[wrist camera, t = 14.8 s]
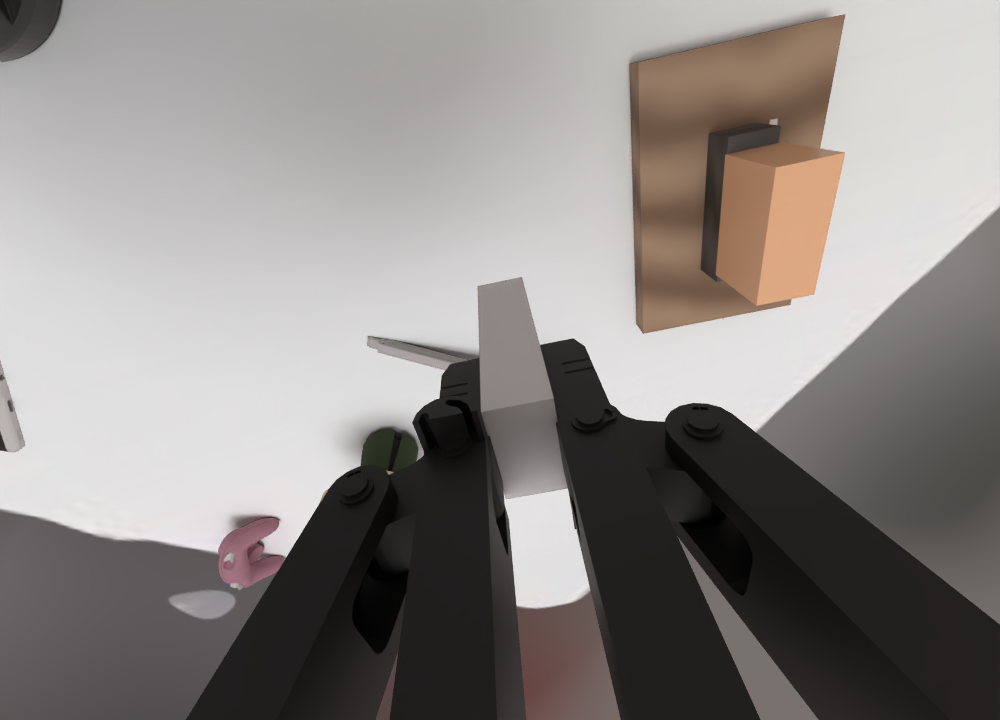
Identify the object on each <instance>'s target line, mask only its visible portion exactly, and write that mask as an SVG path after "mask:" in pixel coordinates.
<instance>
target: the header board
mask: <svg viewBox="0 0 1000 720" xmlns="http://www.w3.org/2000/svg"><path fill="white" fill-rule="evenodd" d="M844 19H845V15H840V16H835V17H830V18H825V19H820V20H816V21H812V22H808V23H803V24H799V25H795V26H790V27H786V28H782V29H778V30H773V31H769V32H765V33H760V34H756V35H752V36H748V37H743V38H739V39H735V40H730V41H726V42H722V43H718V44H713V45H709V46H705V47H701V48H696V49H692V50H688V51H683V52H679V53H675V54H671V55H666V56H662V57H658V58H653V59H649V60H645V61H641V62H636V63H632V64H630V99H631V137H632V174H633V211H634V249H635V286H636V324H637V325H638V327H639V328H640V330H641V331H642V333H643V334H644V333H649V332H654V331H659V330H664V329H669V328H674V327H679V326H684V325H689V324H695V323H700V322H705V321H710V320H715V319H720V318H725V317H730V316H735V315H740V314H746V313H751V312H756V311H761V310H766V309H771V308H776V307H781V306H786V305H790V304H791V299H788V300H783V301H778V302H773V303H768V304H763V305H758V306H756V305H755V304H753V303H752V302H751V301H749V300H748V299H747V298H745V297H744V296H743V295H742V294H740V293H739V292H738V291H736V290H735V289H734V288H732V287H731V286H730V285H728V284H727V283H726V282H725V281H723V280H722V279H721V278H719V277H718V276H717V275H716V265H717V253H718V240H719V228H720V216H721V203H722V191H723V178H724V166H725V155H726V154H730V153H735V152H740V151H744V150H749V149H753V148H758V147H762V146H767V145H772V144H776V143H781V142H785V143H791V144H797V145H803V146H809V147H814V148H820V145H821V140H822V135H823V130H824V124H825V119H826V114H827V108H828V103H829V98H830V93H831V87H832V82H833V77H834V71H835V66H836V61H837V56H838V50H839V45H840V40H841V34H842V29H843V24H844Z"/></svg>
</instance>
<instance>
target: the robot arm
mask: <svg viewBox="0 0 1000 720" xmlns="http://www.w3.org/2000/svg"><path fill="white" fill-rule="evenodd" d="M60 2H61V0H0V62H3V61H9V60H14V59H17V58H20V57H22V56H25V55H27V54H28V53H30V52H32V51H33V50H35V49H36V48H37V47H39V46H40V45H41V44H42V43H43V42H44V40H45V39H46V38H47V36H48V35H49V34H50V32H51V30H52V28H53V26H54V24H55V22H56V19H57V16H58V12H59V8H60ZM478 319H479V357H480V358H478V359H473V360H468V361H463V362H458V363H453V364H450V365H449V366H448V368H447V369H446V371H445V372H444V373H443V375H442V379H441V390H440V399H436V400H434V401H432V402H430V403H429V404H427V405H425V406H424V407H423V408H422V409H421V410H420V411H419V412H418V413H417V414H416V416H415V418H414V420H413V422H412V423H413V425H414V428H415V430H416V433H417V435H418V438H419V440H420V443H421V445H422V448H423V450H424V456H423V457H422V458H420V459H419V460H418V461H416V462H415V463H413V464H411V465H409V466H407V467H405V468H403V469H401V470H398V471H396V472H394V473H391V474H388V472H387V471H386V470H384V469H383V468H382V467H380V466H375V465H366V466H360V467H357V468H355V469H353V470H350V471H348V472H346V473H345V474H344V475H342V476H341V477H340V478H338V479H337V480H336V481H335V482H334V483H333V485H332V486H331V487H330V488H329V489H328V491H327V493H326V494H325V496H324V497H323V499H322V501H321V502H320V504H319V506H318V507H317V509H316V510H315V512H314V514H313V515H312V517H311V518H310V520H309V522H308V523H307V525H306V527H305V528H304V530H303V531H302V533H301V535H300V536H299V538H298V539H297V541H296V543H295V544H294V546H293V548H292V549H291V551H290V552H289V554H288V556H287V557H286V559H285V561H284V562H283V564H282V565H281V567H280V569H279V570H278V572H277V574H276V575H275V577H274V578H273V580H272V582H271V583H270V585H269V586H268V588H267V590H266V591H265V593H264V595H263V596H262V598H261V599H260V601H259V603H258V604H257V606H256V607H255V609H254V611H253V612H252V614H251V616H250V617H249V619H248V620H247V622H246V624H245V625H244V627H243V628H242V630H241V632H240V633H239V635H238V636H237V638H236V640H235V641H234V643H233V645H232V646H231V648H230V649H229V651H228V653H227V654H226V656H225V657H224V659H223V661H222V662H221V664H220V666H219V667H218V669H217V670H216V672H215V674H214V675H213V677H212V679H211V680H210V682H209V683H208V685H207V687H206V688H205V690H204V691H203V693H202V695H201V696H200V698H199V699H198V701H197V703H196V704H195V706H194V708H193V709H192V711H191V713H190V714H189V716H188V717H187V719H186V720H375V719H376V716H377V712H378V710H379V707H380V704H381V701H382V697H383V695H384V692H385V689H386V686H387V683H388V679H389V677H390V674H391V671H392V668H393V665H394V662H395V658H396V656H397V652H398V659H397V668H396V675H395V682H394V690H393V698H392V706H391V713H390V720H526V711H525V701H524V689H523V677H522V666H521V654H520V643H519V631H518V620H517V609H516V597H515V586H514V574H513V563H512V551H511V540H510V529H509V519H508V515H507V512H506V508H505V505H504V494H505V498H506V499H510V498H516V497H521V496H527V495H533V494H538V493H544V492H550V491H555V490H561V489H567V488H568V491H569V496H570V502H571V508H572V514H573V520H574V526H575V529H577V534H578V538H579V542H580V547H581V551H582V555H583V560H584V564H585V568H586V572H587V577H588V581H589V585H590V590H591V594H592V598H593V602H594V607H595V611H596V615H597V619H598V624H599V628H600V632H601V637H602V641H603V645H604V649H605V654H606V658H607V663H608V667H609V671H610V675H611V679H612V684H613V688H614V693H615V696H616V701H617V705H618V709H619V714H620V718H621V720H760V718H759V715H758V714H757V711H756V709H755V707H754V704H753V702H752V700H751V698H750V696H749V693H748V691H747V689H746V687H745V685H744V682H743V680H742V678H741V676H740V674H739V671H738V669H737V667H736V665H735V663H734V660H733V658H732V656H731V654H730V652H729V650H728V647H727V645H726V643H725V641H724V639H723V636H722V634H721V632H720V630H719V627H718V625H717V623H716V621H715V619H714V616H713V614H712V612H711V610H710V608H709V605H708V603H707V601H706V599H705V597H704V594H703V592H702V590H701V588H700V586H699V584H698V581H697V579H696V577H695V575H694V572H693V570H692V568H691V566H690V564H689V561H688V559H687V557H686V555H685V553H684V550H683V548H682V546H681V544H680V542H679V539H678V537H679V538H680V540H681V541H682V543H683V544H684V545H685V547H686V548H687V549H688V550H689V551H690V553H691V554H692V556H693V557H694V558H695V560H696V561H697V562H698V563H699V565H700V566H701V567H702V569H703V570H704V571H705V573H706V574H707V575H708V576H709V578H710V579H711V580H712V581H713V583H714V584H715V585H716V587H717V588H718V589H719V591H720V592H721V593H722V595H723V596H724V597H725V598H726V600H727V601H728V602H729V604H730V605H731V606H732V608H733V609H734V610H735V611H736V613H737V614H738V615H739V617H740V618H741V619H742V621H743V622H744V623H745V624H746V626H747V627H748V628H749V630H750V631H751V632H752V633H753V635H754V636H755V637H756V639H757V640H758V641H759V643H760V644H761V645H762V647H763V648H764V649H765V650H766V652H767V653H768V654H769V655H770V657H771V658H772V660H773V661H774V662H775V663H776V665H777V666H778V667H779V669H780V670H781V671H782V672H783V674H784V675H785V676H786V678H787V679H788V680H789V682H790V683H791V684H792V686H793V687H794V688H795V689H796V691H797V692H798V693H799V695H800V696H801V697H802V698H803V700H804V701H805V702H806V704H807V705H808V706H809V708H810V709H811V710H812V712H813V713H814V714H815V715H816V717H817V718H818V719H819V720H1000V624H998V623H997V622H996V621H995V620H993V619H992V618H991V617H989V616H988V615H987V614H986V613H984V612H983V611H982V610H981V609H979V608H978V607H977V606H976V605H974V604H973V603H972V602H970V601H969V600H968V599H967V598H965V597H964V596H963V595H962V594H960V593H959V592H958V591H957V590H955V589H954V588H953V587H951V586H950V585H949V584H948V583H946V582H945V581H944V580H943V579H941V578H940V577H939V576H937V575H936V574H935V573H934V572H932V571H931V570H930V569H929V568H927V567H926V566H925V565H923V564H922V563H921V562H920V561H918V560H917V559H916V558H915V557H913V556H912V555H911V554H910V553H908V552H907V551H906V550H904V549H903V548H902V547H901V546H899V545H898V544H897V543H895V542H894V541H893V540H892V539H890V538H889V537H888V536H887V535H885V534H884V533H883V532H882V531H880V530H879V529H878V528H877V527H875V526H874V525H873V524H871V523H870V522H869V521H867V520H866V519H865V518H864V517H862V516H861V515H860V514H859V513H857V512H856V511H855V510H854V509H852V508H851V507H850V506H849V505H847V504H846V503H845V502H843V501H842V500H841V499H840V498H838V497H837V496H836V495H834V494H833V493H832V492H831V491H829V490H828V489H827V488H826V487H824V486H823V485H822V484H821V483H819V482H818V481H817V480H816V479H814V478H813V477H812V476H810V475H809V474H808V473H806V472H805V471H804V470H803V469H802V468H800V467H799V466H798V465H797V464H795V463H794V462H793V461H791V460H790V459H789V458H788V457H786V456H785V455H784V454H783V453H781V452H780V451H779V450H777V449H776V448H775V447H774V446H772V445H771V444H770V443H768V442H767V441H766V440H765V439H763V438H762V437H761V436H759V435H758V434H757V433H756V432H755V431H753V430H752V429H751V428H750V427H748V426H747V425H746V424H744V423H743V422H742V421H741V420H739V419H738V418H737V417H736V416H734V415H733V414H731V413H730V412H728V411H726V410H724V409H723V408H721V407H717V406H713V405H710V404H701V403H691V404H687V405H682V406H679V407H677V408H676V409H674V410H672V411H671V412H670V413H669V415H668V416H667V418H666V419H665V422H657V421H643V420H635V419H632V418H629V417H626V416H624V415H622V414H621V413H620V412H619V411H618V409H617V408H616V407H614V406H612V405H611V404H610V403H609V401H608V398H607V396H606V394H605V392H604V389H603V387H602V385H601V382H600V380H599V378H598V375H597V373H596V371H595V369H594V366H593V364H592V362H591V360H590V357H589V355H588V353H587V350H586V348H585V346H583V345H582V344H581V343H579V342H578V341H576V340H575V339H568V340H563V341H558V342H553V343H548V344H543V345H540V344H539V340H538V337H537V333H536V329H535V325H534V321H533V318H532V314H531V310H530V306H529V302H528V299H527V295H526V291H525V287H524V283H523V279H522V277H520V278H515V279H510V280H505V281H501V282H496V283H491V284H486V285H481V286H478ZM503 491H504V492H503ZM677 536H678V537H677ZM398 650H399V651H398Z"/></svg>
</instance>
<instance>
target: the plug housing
mask: <svg viewBox="0 0 1000 720" xmlns="http://www.w3.org/2000/svg"><path fill="white" fill-rule="evenodd" d="M844 156H845V153H844V152H838V151H832V150H826V149H820V148H814V147H809V146H803V145H797V144H791V143H785V142H781V143H776V144H772V145H767V146H762V147H758V148H753V149H749V150H744V151H740V152H735V153H730V154H726V155H725V166H724V178H723V191H722V203H721V216H720V228H719V240H718V253H717V265H716V275H717V276H718V277H719V278H721V279H722V280H723V281H725V282H726V283H727V284H728V285H730V286H731V287H732V288H734V289H735V290H736V291H738V292H739V293H740V294H742V295H743V296H744V297H745V298H747V299H748V300H749V301H751V302H752V303H753V304H755V305H756V306H758V305H763V304H768V303H773V302H778V301H783V300H788V299H794V298H799V297H804V296H809V295H814V293H815V288H816V284H817V279H818V275H819V270H820V265H821V261H822V256H823V252H824V247H825V243H826V238H827V234H828V229H829V224H830V220H831V215H832V211H833V206H834V202H835V197H836V192H837V188H838V183H839V179H840V174H841V170H842V165H843V160H844Z"/></svg>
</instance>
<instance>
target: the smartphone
mask: <svg viewBox="0 0 1000 720" xmlns="http://www.w3.org/2000/svg"><path fill="white" fill-rule="evenodd" d="M2 374H4V371H3V368H2V365H1V361H0V375H2ZM24 446H25V441H24V438H23V435H22V431H21V428H20V425H19V421H18V418H17V415H16V411H15V408H14V405H13V401H12V398H11V395H10V391H9V388H8V385H7V381H6V378H5V377H1V376H0V450H1V451H7V452H17V451H19V450H20V449H22V448H23V447H24Z"/></svg>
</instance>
